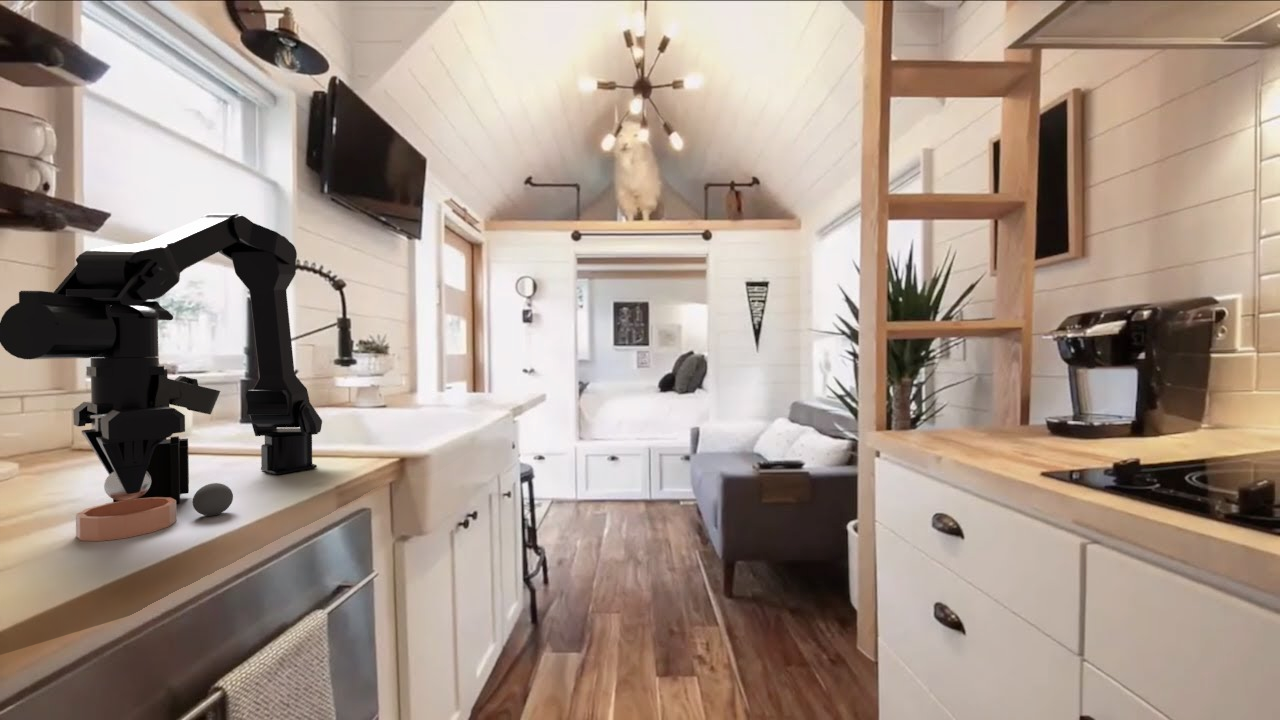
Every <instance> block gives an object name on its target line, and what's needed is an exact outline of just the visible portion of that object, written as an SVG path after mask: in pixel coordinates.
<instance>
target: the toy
mask: <svg viewBox="0 0 1280 720" xmlns="http://www.w3.org/2000/svg"><path fill="white" fill-rule="evenodd" d="M189 459H190V458H189V438H180V437H179V435H178V436H170V437H169V438H168V439H167V438H166V439H165V440H163V441H162V442H161V443H159V444H158V445H157V446H156V447H155V448H154V450H153V453H152V456H151V459H150V462H149V465H148V468H147V472H148V473H149V474H150V476H151V486H150V488H149V489H148V491H147V492H146V493H145V494H144V495H142V496H141V497H139V498H149V497H171V498H173V499H175V500H176V506H177V505H180V503H181V495H186V494H189V492H190V491H189V489H190V485H189V484H190V471H189V470H190V469H189V468H190V466H189ZM137 499H138V498H137ZM112 502H118V500H114V499H112Z"/></svg>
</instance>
